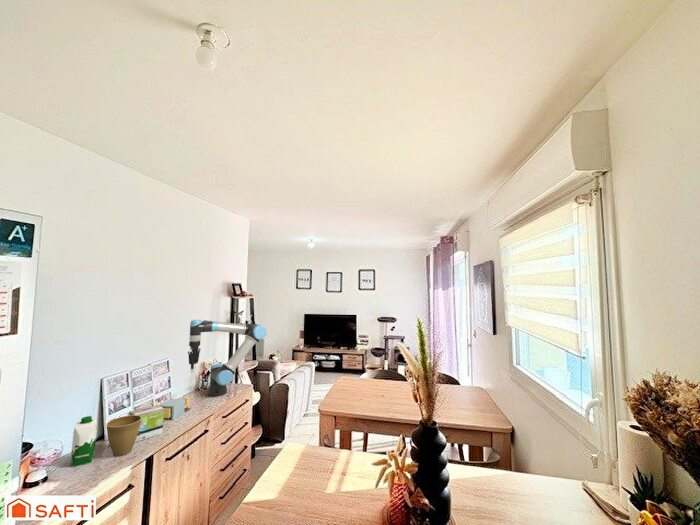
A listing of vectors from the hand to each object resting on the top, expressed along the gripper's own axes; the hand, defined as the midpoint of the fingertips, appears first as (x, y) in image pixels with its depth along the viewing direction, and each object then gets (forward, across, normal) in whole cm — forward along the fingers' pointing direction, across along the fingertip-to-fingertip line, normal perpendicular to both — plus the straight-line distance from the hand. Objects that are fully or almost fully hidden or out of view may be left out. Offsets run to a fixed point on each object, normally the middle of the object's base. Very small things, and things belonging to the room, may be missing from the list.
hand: (193, 372), depth 231 cm
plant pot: (+23, +69, +4) cm, 73 cm away
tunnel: (+22, +22, 0) cm, 31 cm away
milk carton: (+23, +79, -8) cm, 82 cm away
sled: (+22, +18, 0) cm, 28 cm away
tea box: (+23, +51, +3) cm, 56 cm away
